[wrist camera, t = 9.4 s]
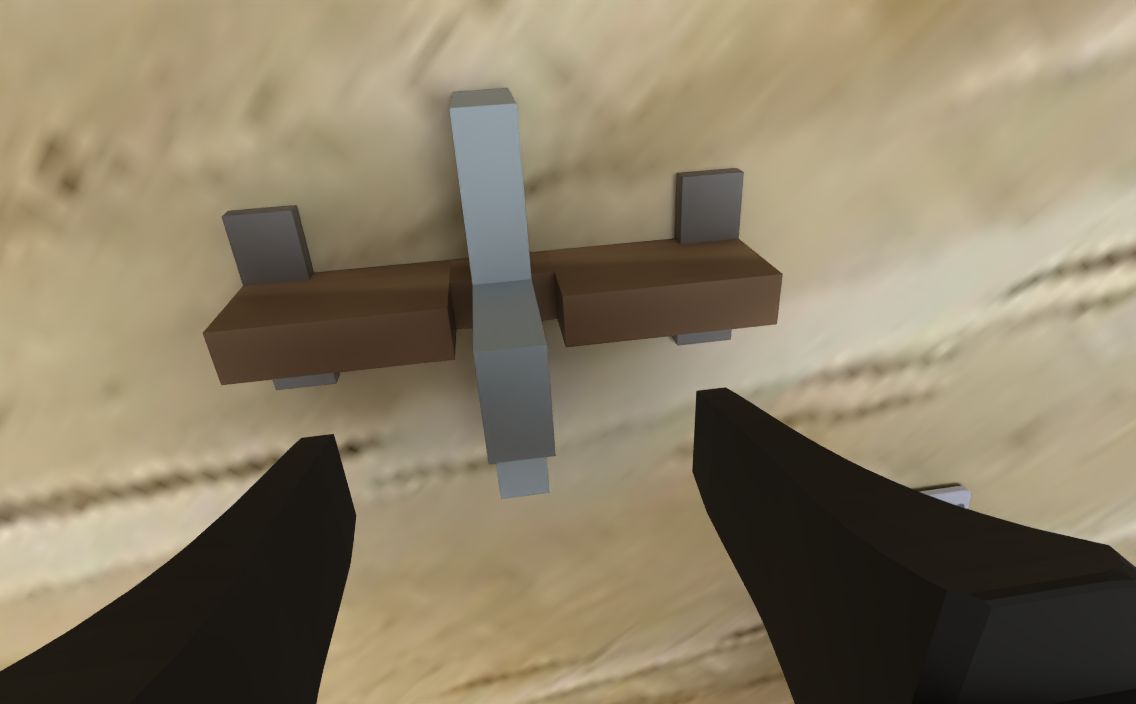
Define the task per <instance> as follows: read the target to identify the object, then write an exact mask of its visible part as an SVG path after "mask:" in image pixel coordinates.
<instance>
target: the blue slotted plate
mask: <svg viewBox="0 0 1136 704" xmlns="http://www.w3.org/2000/svg"><path fill="white" fill-rule="evenodd" d="M449 110H450V118H451V125H452V133H453V140H454V148H455V155H456V163H457V171H458V178H459V186H460V193H461V201H462V208H463V216H464V223H465V231H466V239H467V246H468V254H469V261H470V269H471V276H472V284H473V355H474V362H475V369H476V376H477V384H478V391H479V398H480V405H481V412H482V419H483V427H484V434H485V441H486V448H487V455H488V463H489V464H495V463H496V466H497V473H498V481H499V488H500V496H501V499H506V498H513V497H521V496H529V495H536V494H544V493H550V492H549V480H548V468H547V457H550V456H556V455H555V442H554V428H553V415H552V402H551V389H550V376H549V363H548V350H547V342H546V338H545V334H544V330H543V325H542V321H541V317H540V313H539V309H538V305H537V300H536V296H535V292H534V288H533V284H532V279H531V268H530V256H529V245H528V233H527V221H526V209H525V197H524V186H523V174H522V162H521V150H520V139H519V127H518V115H517V103H516V102H515V100H514V98H513V96H512V95H511V93H510V91H509V89H508V88H502V89H488V90H474V91H459V92H453V95H452V99H451V103H450V107H449Z"/></svg>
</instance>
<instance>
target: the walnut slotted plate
mask: <svg viewBox="0 0 1136 704" xmlns="http://www.w3.org/2000/svg"><path fill="white" fill-rule="evenodd" d="M743 174H744V172H743V171H741V170H739V169H737V168H734V169H722V170H710V171H698V172H687V173H677V203H676V237H675V239H668V240H657V241H646V242H636V243H625V244H615V245H604V246H593V247H583V248H572V249H562V250H551V251H541V252H530V253H529V256H530V268H531V279H532V284H533V288H534V292H535V296H536V300H537V305H538V309H539V313H540V317H541V321H543V320H552V319H558V322H559V326H560V329H561V333H562V336H563V339H564V343H565V346H566V347H573V346H582V345H591V344H601V343H610V342H619V341H628V340H637V339H646V338H655V337H664V336H673V340H674V341H675V343H676V344H677V345H686V344H695V343H704V342H713V341H722V340H731V330H732V329H737V328H747V327H756V326H765V325H774V324H777V318H778V310H779V301H780V292H781V283H782V275H783V274H782V273H781V272H779V271H778V270H777V269H776V268H774V267H773V266H772V265H771V264H769V263H768V262H767V261H766V260H764V259H763V258H762V257H761V256H759V255H758V254H757V253H756V252H755V251H753V250H752V249H751V248H750V247H748V246H747V245H746V244H745V243H743V242H742V241H741V240H740V239H739V226H740V213H741V200H742V187H743ZM222 220H223V223H224V226H225V229H226V232H227V236H228V239H229V242H230V245H231V248H232V252H233V255H234V258H235V261H236V264H237V267H238V271H239V274H240V277H241V280H242V283H243V287H242V288H241V289H240V290H239V291H238V293H237V294H236V295H235V296H234V297H233V298H232V300H231V301H230V302H229V303H228V304H227V305H226V307H225V308H224V309H223V310H222V311H221V312H220V314H219V315H218V316H217V317H216V318H215V319H214V321H213V322H212V323H211V324H210V325H209V326H208V327H207V329H206V330H205V331H204V332H203V335H204V338H205V341H206V344H207V346H208V349H209V352H210V355H211V358H212V360H213V363H214V366H215V369H216V371H217V374H218V377H219V380H220V383H221V385H227V384H236V383H245V382H254V381H263V380H272V379H273V382H274V385H275V388H276V390H282V389H291V388H300V387H309V386H318V385H327V384H336V383H337V381H338V378H339V375H340V374H339V372H345V371H354V370H363V369H373V368H382V367H391V366H400V365H409V364H418V363H427V362H436V361H446V360H455V347H456V330H457V329H466V328H473V284H472V276H471V269H470V261H469V258H466V259H456V260H445V261H435V262H424V263H414V264H403V265H392V266H382V267H371V268H361V269H350V270H340V271H329V272H318V273H313V269H312V265H311V261H310V257H309V253H308V249H307V245H306V241H305V237H304V234H303V230H302V226H301V222H300V218H299V214H298V210H297V206H296V205H295V206H283V207H271V208H259V209H248V210H236V211H228V212H227V213H225V214H224V215H223V216H222Z"/></svg>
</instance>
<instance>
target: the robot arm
mask: <svg viewBox="0 0 1136 704" xmlns="http://www.w3.org/2000/svg"><path fill="white" fill-rule="evenodd" d="M692 471H693V474H694V477H695V480H696V483H697V486H698V489H699V492H700V495H701V497H702V500H703V503H704V505H705V508H706V511H707V513H708V515H709V517H710V519H711V521H712V523H713V525H714V527H715V529H716V531H717V533H718V535H719V537H720V539H721V541H722V543H723V545H724V547H725V549H726V551H727V553H728V554H729V556H730V558H731V560H732V562H733V564H734V566H735V568H736V570H737V572H738V574H739V575H740V577H741V579H742V581H743V583H744V585H745V587H746V589H747V591H748V593H749V595H750V596H751V598H752V600H753V602H754V604H755V606H756V608H757V610H758V613H759V615H760V617H761V619H762V621H763V623H764V625H765V628H766V630H767V633H768V635H769V638H770V640H771V643H772V646H773V648H774V651H775V653H776V656H777V658H778V661H779V663H780V666H781V668H782V671H783V673H784V676H785V679H786V681H787V684H788V687H789V689H790V692H791V695H792V697H793V700H794V703H795V704H1136V567H1135V566H1134V565H1132V564H1131V563H1130V562H1129V561H1127V560H1126V559H1125V558H1124V557H1123V556H1121V555H1120V554H1119V553H1118V552H1117V551H1115V550H1114V549H1113V548H1112V547H1110V546H1109V545H1105V544H1100V543H1096V542H1092V541H1087V540H1083V539H1078V538H1074V537H1070V536H1065V535H1061V534H1056V533H1052V532H1048V531H1043V530H1039V529H1035V528H1031V527H1027V526H1023V525H1020V524H1016V523H1013V522H1009V521H1006V520H1002V519H999V518H995V517H992V516H988V515H985V514H982V513H978V512H975V511H972V510H969V509H968V506H969V503H970V500H971V495H972V494H971V492H970V491H969V490H968V489H967V488H966V487H964V486H956V487H949V488H941V489H934V490H927V491H920V492H918V491H916V490H913V489H911V488H908V487H906V486H903V485H901V484H898V483H896V482H894V481H892V480H889V479H887V478H885V477H883V476H880V475H878V474H876V473H874V472H871V471H869V470H867V469H865V468H863V467H861V466H859V465H857V464H855V463H853V462H851V461H849V460H847V459H845V458H843V457H841V456H839V455H837V454H835V453H834V452H832V451H830V450H828V449H826V448H824V447H822V446H821V445H819V444H817V443H815V442H814V441H812V440H810V439H808V438H807V437H805V436H803V435H802V434H800V433H798V432H797V431H795V430H793V429H792V428H790V427H788V426H787V425H785V424H784V423H782V422H780V421H779V420H777V419H776V418H774V417H772V416H771V415H769V414H768V413H766V412H765V411H763V410H761V409H760V408H758V407H757V406H755V405H754V404H752V403H750V402H749V401H747V400H746V399H744V398H743V397H741V396H739V395H738V394H736V393H734V392H733V391H731V390H729V389H727V388H726V387H725V388H717V389H709V390H700V391H696V411H695V431H694V451H693V470H692ZM355 522H356V513H355V509H354V505H353V502H352V498H351V495H350V491H349V487H348V484H347V480H346V476H345V473H344V469H343V465H342V462H341V458H340V454H339V451H338V447H337V444H336V440H335V436H334V434H330V435H321V436H313V437H305V438H301V439H300V440H299V441H297V442H296V443H295V444H294V445H293V446H292V447H291V448H290V449H289V450H288V451H287V452H286V453H285V454H284V455H283V456H282V457H281V458H280V459H279V460H278V461H277V462H276V463H275V464H274V465H273V466H272V467H271V468H270V469H269V470H268V471H267V472H266V473H265V474H264V475H263V476H262V477H261V478H260V479H259V480H258V481H257V482H256V483H255V484H254V485H253V486H252V487H251V488H250V489H249V490H248V491H247V492H246V493H245V494H244V495H243V496H242V497H241V498H240V499H239V500H238V501H237V502H236V503H235V504H234V505H232V506H231V507H230V508H229V509H228V510H227V511H226V512H225V513H224V514H222V515H221V516H220V517H219V518H218V519H217V520H216V521H215V522H214V523H212V524H211V525H210V526H209V527H208V528H207V529H206V530H205V531H203V532H202V533H201V534H200V535H199V536H198V537H197V538H196V539H195V540H193V541H192V542H191V543H190V544H189V545H188V546H186V547H185V548H184V549H183V550H182V551H180V552H179V553H178V554H177V555H175V556H174V557H173V558H172V559H170V560H169V561H168V562H167V563H165V564H164V565H163V566H161V567H160V568H159V569H157V570H156V571H155V572H154V573H152V574H151V575H150V576H148V577H147V578H146V579H144V580H143V581H142V582H140V583H139V584H138V585H136V586H135V587H133V588H132V589H131V590H129V591H128V592H126V593H125V594H123V595H122V596H120V597H119V598H117V599H116V600H114V601H113V602H111V603H110V604H109V605H107V606H106V607H104V608H103V609H101V610H100V611H98V612H97V613H95V614H94V615H92V616H91V617H89V618H88V619H86V620H85V621H83V622H82V623H80V624H79V625H77V626H76V627H74V628H73V629H71V630H69V631H68V632H66V633H65V634H63V635H61V636H60V637H58V638H56V639H55V640H53V641H51V642H50V643H48V644H46V645H45V646H43V647H42V648H40V649H38V650H37V651H35V652H33V653H31V654H30V655H28V656H26V657H24V658H23V659H21V660H19V661H17V662H16V663H14V664H12V665H10V666H9V667H7V668H5V669H4V670H2V671H0V704H316V703H317V697H318V692H319V687H320V682H321V678H322V673H323V669H324V665H325V661H326V657H327V653H328V650H329V646H330V642H331V638H332V634H333V630H334V627H335V623H336V619H337V615H338V611H339V608H340V604H341V600H342V596H343V592H344V588H345V584H346V580H347V576H348V572H349V568H350V564H351V557H352V549H353V542H354V532H355Z"/></svg>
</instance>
